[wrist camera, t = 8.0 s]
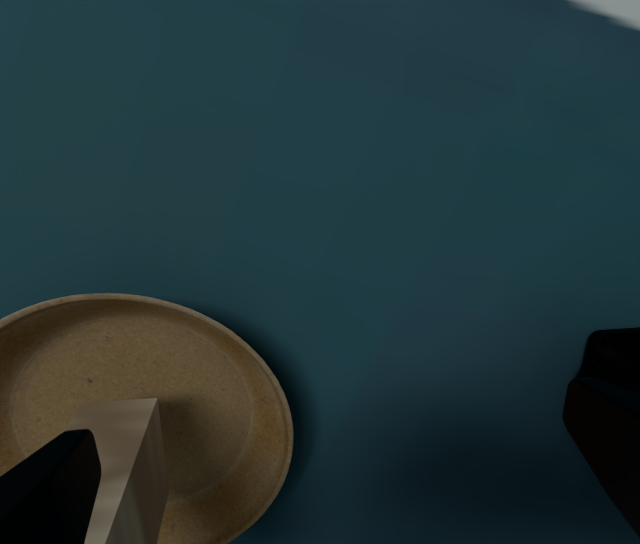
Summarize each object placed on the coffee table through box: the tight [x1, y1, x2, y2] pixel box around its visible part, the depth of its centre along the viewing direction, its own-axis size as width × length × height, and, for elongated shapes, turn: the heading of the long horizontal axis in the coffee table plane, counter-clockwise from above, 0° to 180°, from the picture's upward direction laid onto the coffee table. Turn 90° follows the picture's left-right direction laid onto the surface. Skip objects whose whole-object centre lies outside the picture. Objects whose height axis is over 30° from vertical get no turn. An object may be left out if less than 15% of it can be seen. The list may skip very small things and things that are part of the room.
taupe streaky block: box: [63, 398, 169, 544], centre depth 15 cm, size 3×5×8 cm, turn 179°
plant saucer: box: [0, 293, 293, 544], centre depth 20 cm, size 15×15×3 cm
